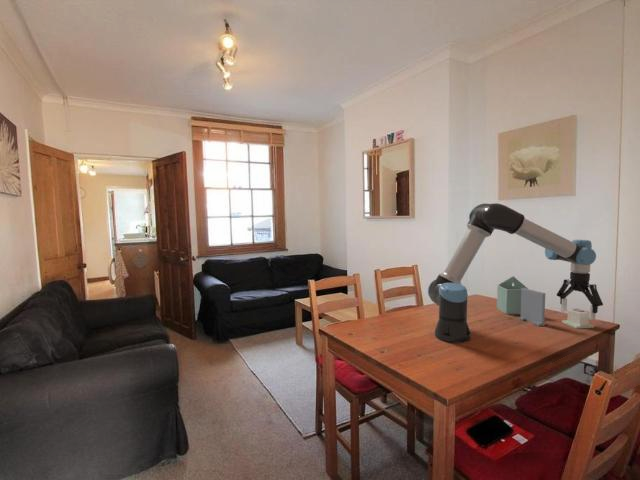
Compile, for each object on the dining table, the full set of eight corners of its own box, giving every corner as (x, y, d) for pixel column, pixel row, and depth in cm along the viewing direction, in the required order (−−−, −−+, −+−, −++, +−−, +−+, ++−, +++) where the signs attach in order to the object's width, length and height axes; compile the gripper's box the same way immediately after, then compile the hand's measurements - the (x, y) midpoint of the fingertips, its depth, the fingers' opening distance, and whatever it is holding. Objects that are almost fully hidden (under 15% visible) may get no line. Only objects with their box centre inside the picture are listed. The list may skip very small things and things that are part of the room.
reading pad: (576, 328, 162) (576, 326, 162) (561, 322, 171) (562, 320, 171) (594, 327, 163) (594, 325, 163) (579, 321, 172) (579, 319, 172)
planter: (491, 310, 193) (491, 276, 191) (497, 308, 198) (497, 274, 196) (523, 317, 180) (524, 280, 179) (528, 314, 185) (529, 278, 184)
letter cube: (579, 325, 163) (580, 312, 163) (567, 321, 169) (567, 309, 168) (588, 324, 165) (589, 311, 164) (576, 320, 171) (576, 308, 170)
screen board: (546, 325, 168) (548, 292, 166) (539, 326, 166) (540, 293, 165) (525, 318, 179) (526, 287, 178) (517, 319, 178) (518, 288, 176)
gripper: (614, 276, 154) (611, 322, 156) (560, 267, 178) (558, 307, 180) (602, 277, 152) (599, 324, 154) (549, 268, 176) (547, 309, 177)
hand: (577, 315), depth 167 cm, fingers open, 13 cm apart
